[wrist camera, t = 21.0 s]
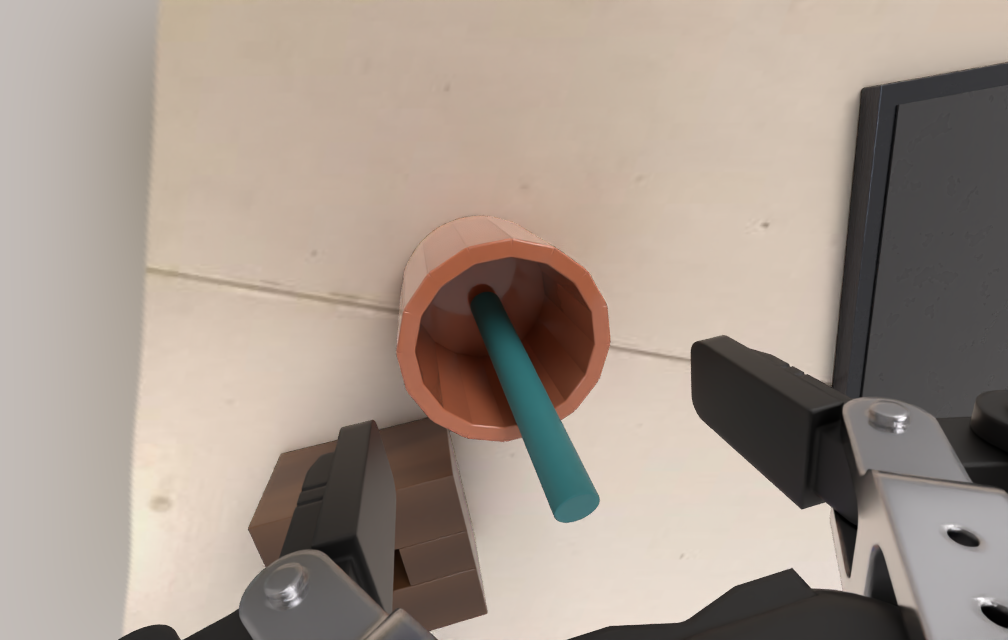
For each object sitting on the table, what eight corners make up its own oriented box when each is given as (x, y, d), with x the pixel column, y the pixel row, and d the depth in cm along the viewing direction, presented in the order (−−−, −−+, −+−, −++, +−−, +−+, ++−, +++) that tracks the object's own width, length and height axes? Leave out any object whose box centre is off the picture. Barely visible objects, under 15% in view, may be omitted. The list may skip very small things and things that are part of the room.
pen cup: (384, 232, 20) (371, 266, 14) (542, 201, 21) (600, 220, 15) (421, 376, 23) (425, 463, 16) (560, 344, 24) (617, 413, 17)
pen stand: (280, 453, 23) (246, 528, 18) (445, 413, 24) (453, 474, 19) (329, 575, 26) (311, 667, 21) (474, 534, 27) (488, 614, 22)
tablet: (861, 88, 22) (883, 84, 21) (1129, 40, 24) (1161, 35, 23) (824, 460, 30) (839, 471, 29) (1029, 402, 32) (1050, 410, 31)
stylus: (465, 289, 21) (554, 502, 13) (495, 282, 21) (601, 487, 13) (469, 313, 22) (554, 529, 13) (498, 306, 22) (599, 514, 14)
